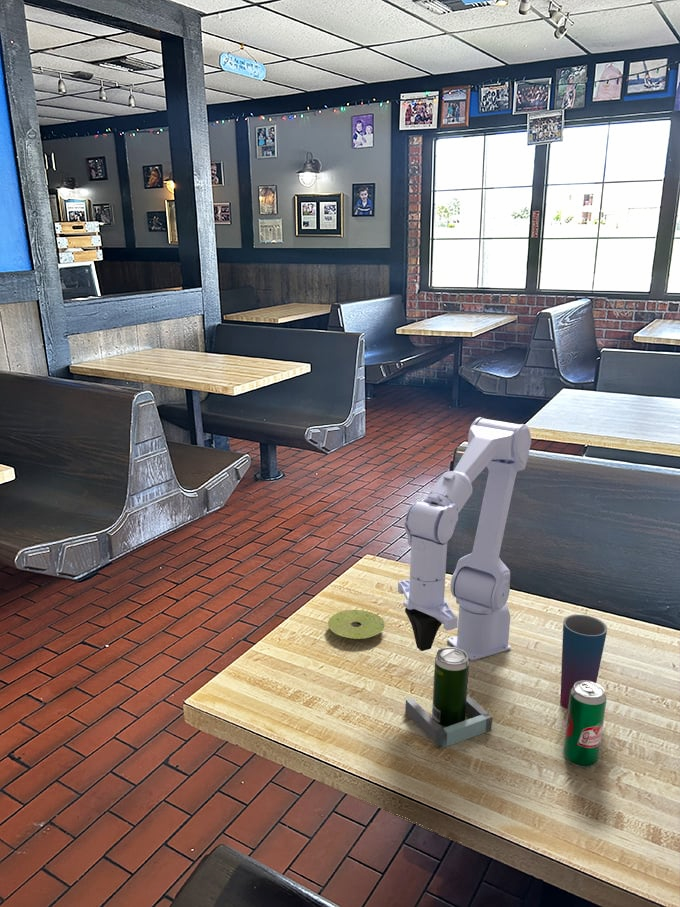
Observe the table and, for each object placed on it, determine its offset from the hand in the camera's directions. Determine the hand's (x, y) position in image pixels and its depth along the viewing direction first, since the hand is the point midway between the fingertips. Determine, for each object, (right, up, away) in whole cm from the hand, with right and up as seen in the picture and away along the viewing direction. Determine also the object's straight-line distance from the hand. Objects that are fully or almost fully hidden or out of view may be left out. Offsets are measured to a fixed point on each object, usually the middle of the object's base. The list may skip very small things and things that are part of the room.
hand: (424, 648), depth 119 cm
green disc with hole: (-11, -3, +23) cm, 25 cm away
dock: (+3, -11, -4) cm, 12 cm away
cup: (+26, -10, +1) cm, 28 cm away
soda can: (+22, -14, -12) cm, 28 cm away
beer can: (+4, -11, -3) cm, 12 cm away
